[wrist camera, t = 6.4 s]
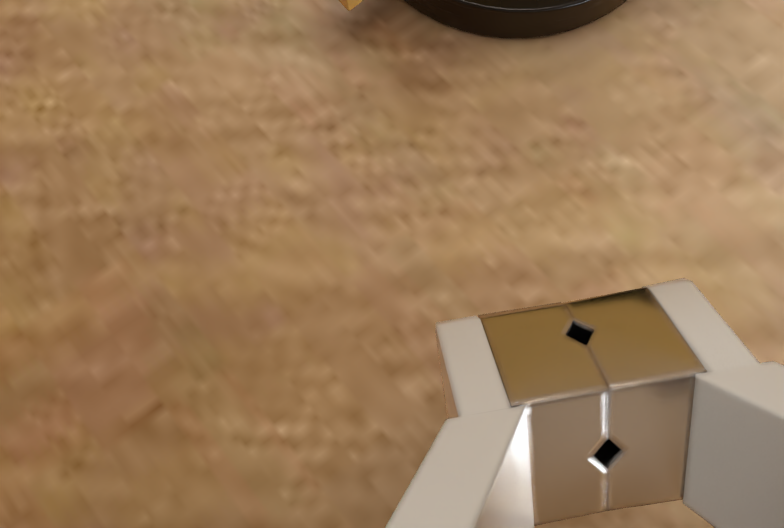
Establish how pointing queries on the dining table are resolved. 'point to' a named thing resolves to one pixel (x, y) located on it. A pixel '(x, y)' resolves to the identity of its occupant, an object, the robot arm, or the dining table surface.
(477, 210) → the dining table surface
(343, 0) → the picture frame
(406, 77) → the dining table surface
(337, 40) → the dining table surface
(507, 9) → the frame stand
